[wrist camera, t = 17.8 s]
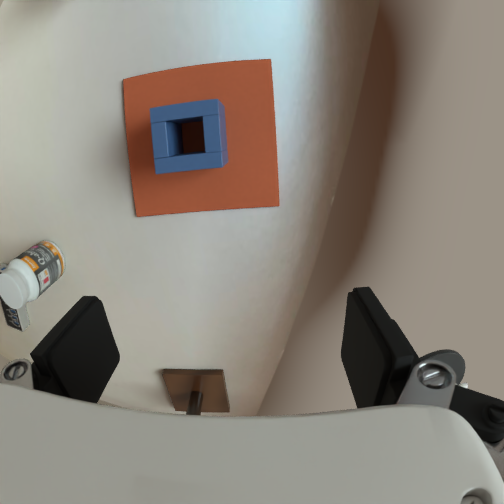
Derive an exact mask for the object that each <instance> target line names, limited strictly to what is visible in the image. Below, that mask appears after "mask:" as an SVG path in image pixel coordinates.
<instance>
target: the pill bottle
mask: <svg viewBox="0 0 504 504" xmlns="http://www.w3.org/2000/svg"><path fill="white" fill-rule="evenodd" d="M64 270H65V260H64V256H63V254H62V252H61V250H60V249H59V248H58V247H57V245H55V244H54V243H52V242H50V241H41V242H39V243H38V244H36V245H35V246H33V247H31V248H30V249H28V250H27V251H25V252H24V253H22V254H20V255H19V256H18V257H16V258H14V259H13V260H12V261H11V262H10V263H9V265H8V267H7V270H5V271H4V272H2V273H1V274H0V296H1V297H2V299H3V300H4V302H5V303H6V304H7V305H8V306H10V307H11V308H13V309H19V308H21V307H22V306H23V305H24V304H25V303H26V302H31V301H34V300H35V299H37V298H38V297H39V296H40V295H41V294H42V293H43V292H44V291H45V290H47V289H48V288H49V287H50V286H51V285H52V284H53V283H54V282H55V281H57V280H58V279H59V278H60V277H61V276H62V274H63V273H64Z"/></svg>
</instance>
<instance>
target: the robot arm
mask: <svg viewBox="0 0 504 504" xmlns="http://www.w3.org/2000/svg"><path fill="white" fill-rule="evenodd" d="M30 355H31V357H32V359H33V361H34V362H33V363H32V365H31V363H30V361H29V360H27V359H15V360H13V361H11V362H9V363H8V364H7V365H6V366H5V367H4V368H3V369H2V371H1V374H0V504H504V401H502V400H500V399H497V398H494V397H491V396H488V395H485V394H482V393H479V392H476V391H473V390H470V389H467V387H468V384H467V383H463V384H460V385H457V384H456V374H455V372H454V370H453V369H452V368H451V367H450V366H449V365H447V364H446V363H444V362H441V361H437V360H425V361H421V360H420V359H419V357H418V355H417V354H416V352H415V351H414V349H413V347H412V346H411V344H410V343H409V341H408V340H407V338H406V337H405V335H404V334H403V332H402V331H401V329H400V327H399V326H398V324H397V323H396V322H395V320H393V319H391V318H390V316H389V315H388V313H387V312H386V310H385V309H384V308H383V306H382V305H381V303H380V302H379V300H378V299H377V297H376V296H375V294H374V293H373V291H372V290H371V289H370V288H369V287H360V288H354V289H353V291H352V292H349V293H348V297H347V307H346V317H345V325H344V333H343V341H342V348H341V358H342V362H343V365H344V368H345V371H346V374H347V377H348V380H349V383H350V386H351V390H352V393H353V395H354V399H355V402H356V405H357V409H350V410H340V411H330V412H322V413H310V414H296V415H280V416H201V415H184V414H171V413H160V412H151V411H142V410H134V409H127V408H120V407H114V406H108V405H102V404H97V402H98V400H99V398H100V396H101V395H102V393H103V391H104V389H105V387H106V385H107V383H108V381H109V379H110V378H111V376H112V374H113V372H114V370H115V368H116V367H117V365H118V363H119V360H120V354H119V351H118V348H117V346H116V343H115V340H114V337H113V334H112V331H111V328H110V325H109V322H108V319H107V316H106V313H105V310H104V306H103V303H102V301H101V300H99V299H98V297H96V296H83V297H82V298H81V299H80V300H79V301H78V302H77V303H76V304H75V305H74V306H73V307H72V308H71V309H70V310H69V311H68V312H67V313H66V314H65V315H64V317H63V318H62V319H61V320H60V321H59V322H58V323H57V324H56V325H55V326H54V327H53V328H52V330H51V331H50V332H49V333H48V334H47V335H46V336H45V337H44V338H43V340H42V341H41V342H40V343H39V344H38V345H37V346H36V348H35V349H34V350H33V351H32V352H31V353H30Z"/></svg>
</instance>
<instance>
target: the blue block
mask: <svg viewBox="0 0 504 504" xmlns="http://www.w3.org/2000/svg"><path fill="white" fill-rule="evenodd" d="M199 121H203V130H204V143H205V151H200V152H191V153H184V150H183V138H182V126H181V124H183V123H191V122H199ZM150 122H151V133H152V144H153V155H154V165H155V174H164V173H173V172H181V171H191V170H201V169H212V168H222V167H224V166H225V165H226V164H227V163H228V150H227V135H226V121H225V106H224V105H223V104H222V103H221V102H220V101H219V99H209V100H201V101H193V102H185V103H178V104H172V105H166V106H160V107H154V108H150Z"/></svg>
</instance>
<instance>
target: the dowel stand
mask: <svg viewBox="0 0 504 504" xmlns="http://www.w3.org/2000/svg"><path fill="white" fill-rule="evenodd" d="M162 375H163V378H164V381H165V383H166V386H167V389H168V392H169V395H170V397H171V400H172V403H173V405H174V408H175V411H186V412H187V413H186V415H200V414H201V412H230V405H229V400H228V395H227V389H226V384H225V378H224V372H223V370H185V369H164V370H163V373H162Z"/></svg>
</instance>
